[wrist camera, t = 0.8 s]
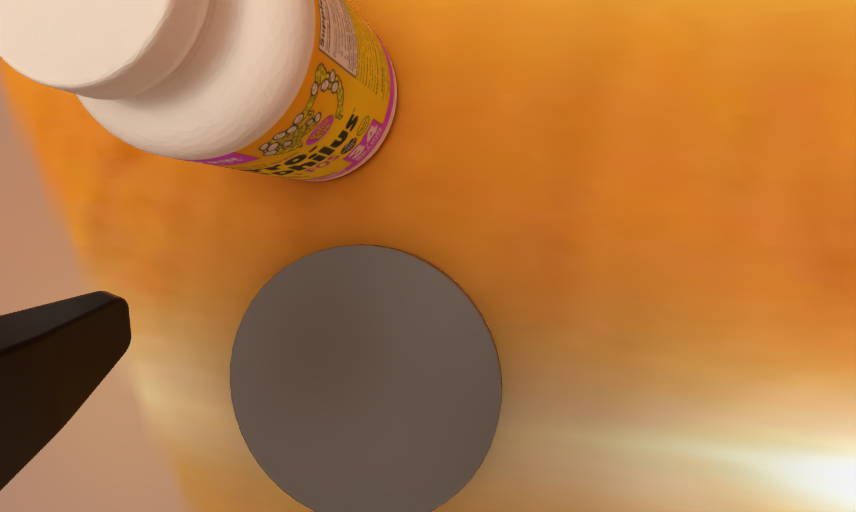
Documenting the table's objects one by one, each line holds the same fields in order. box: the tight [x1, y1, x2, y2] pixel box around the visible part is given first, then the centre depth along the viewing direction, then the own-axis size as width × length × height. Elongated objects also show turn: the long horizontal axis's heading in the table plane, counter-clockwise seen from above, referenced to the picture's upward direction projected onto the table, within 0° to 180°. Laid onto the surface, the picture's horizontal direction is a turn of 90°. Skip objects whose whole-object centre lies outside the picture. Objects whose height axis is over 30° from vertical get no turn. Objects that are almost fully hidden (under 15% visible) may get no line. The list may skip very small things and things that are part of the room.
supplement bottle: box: [0, 0, 397, 181], centre depth 17 cm, size 7×7×13 cm
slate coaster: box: [230, 245, 502, 512], centre depth 24 cm, size 11×11×1 cm
